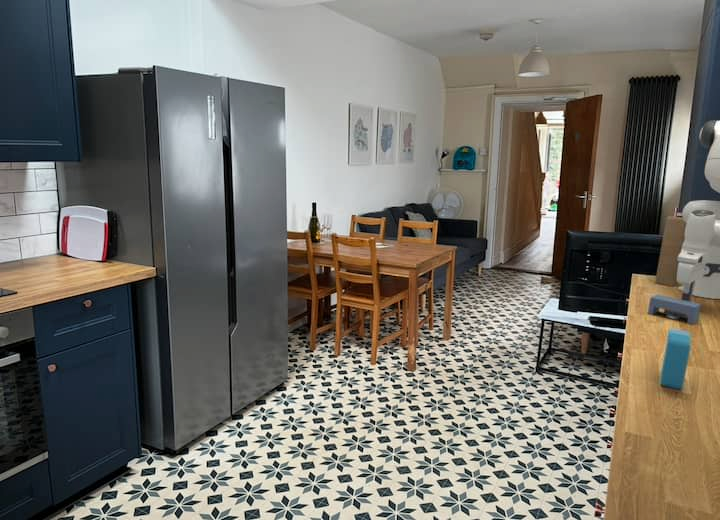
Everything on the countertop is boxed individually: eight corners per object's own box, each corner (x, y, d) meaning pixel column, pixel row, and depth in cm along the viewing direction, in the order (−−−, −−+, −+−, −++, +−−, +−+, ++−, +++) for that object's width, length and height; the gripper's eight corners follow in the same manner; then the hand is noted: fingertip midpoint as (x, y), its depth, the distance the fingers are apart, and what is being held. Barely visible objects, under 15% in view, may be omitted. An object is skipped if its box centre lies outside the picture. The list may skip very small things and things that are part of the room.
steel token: (667, 315, 187) (668, 312, 187) (680, 318, 184) (680, 315, 184) (664, 317, 184) (664, 314, 184) (676, 320, 181) (677, 317, 181)
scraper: (674, 307, 196) (681, 273, 193) (696, 312, 191) (702, 277, 189) (663, 313, 188) (670, 278, 185) (685, 318, 183) (692, 282, 180)
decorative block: (677, 281, 241) (689, 216, 235) (674, 286, 229) (686, 219, 223) (659, 278, 246) (670, 214, 239) (654, 283, 234) (666, 217, 227)
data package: (661, 370, 136) (669, 326, 134) (681, 374, 134) (690, 330, 131) (660, 387, 126) (669, 340, 123) (682, 392, 124) (691, 344, 121)
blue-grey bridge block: (654, 310, 191) (657, 294, 190) (698, 320, 181) (701, 304, 180) (647, 313, 187) (650, 297, 185) (692, 324, 177) (695, 307, 175)
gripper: (693, 251, 198) (686, 286, 201) (676, 256, 184) (669, 294, 187) (712, 254, 193) (705, 290, 196) (696, 259, 180) (689, 298, 182)
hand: (687, 292), depth 191 cm, fingers closed on scraper, 2 cm apart
